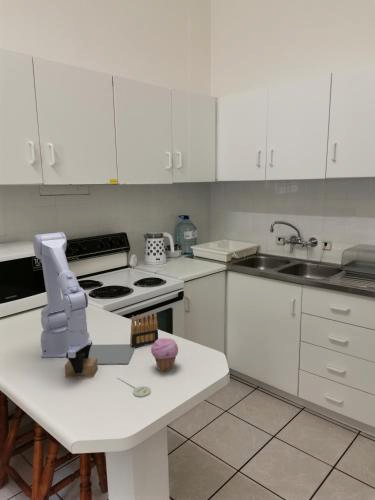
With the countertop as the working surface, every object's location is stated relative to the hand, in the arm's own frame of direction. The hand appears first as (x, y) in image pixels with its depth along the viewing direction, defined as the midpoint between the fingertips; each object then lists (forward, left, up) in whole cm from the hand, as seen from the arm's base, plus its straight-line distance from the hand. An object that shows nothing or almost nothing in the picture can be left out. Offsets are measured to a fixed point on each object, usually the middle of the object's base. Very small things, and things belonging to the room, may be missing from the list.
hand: (81, 368), depth 121 cm
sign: (+18, -8, -2) cm, 20 cm away
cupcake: (+27, +3, -2) cm, 27 cm away
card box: (0, 0, -2) cm, 2 cm away
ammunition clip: (+17, +21, -2) cm, 27 cm away
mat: (+4, +13, -2) cm, 14 cm away
